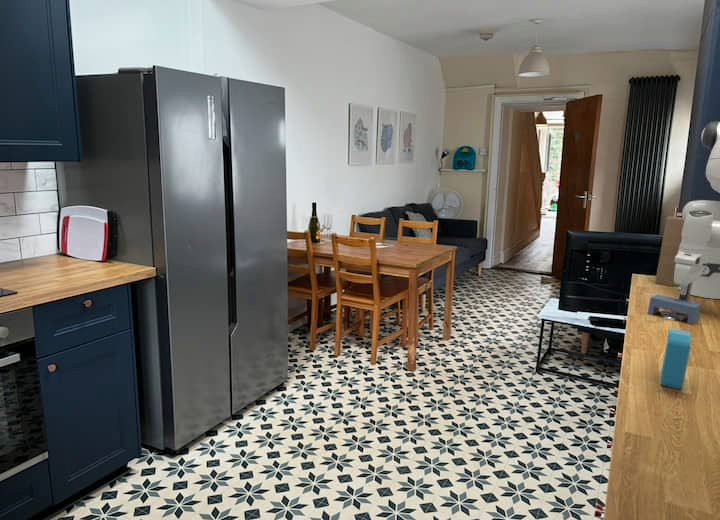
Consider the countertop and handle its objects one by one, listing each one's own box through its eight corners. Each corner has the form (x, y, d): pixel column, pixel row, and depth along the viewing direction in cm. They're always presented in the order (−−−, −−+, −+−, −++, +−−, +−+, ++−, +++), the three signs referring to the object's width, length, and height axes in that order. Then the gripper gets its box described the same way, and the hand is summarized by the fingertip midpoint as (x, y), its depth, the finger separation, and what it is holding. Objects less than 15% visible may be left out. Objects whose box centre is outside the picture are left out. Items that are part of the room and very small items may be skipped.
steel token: (664, 316, 184) (665, 314, 184) (677, 319, 182) (678, 317, 181) (661, 318, 182) (661, 316, 181) (674, 322, 179) (674, 319, 179)
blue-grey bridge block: (654, 310, 191) (657, 294, 190) (698, 320, 181) (701, 304, 180) (647, 313, 187) (650, 297, 185) (692, 324, 177) (695, 307, 175)
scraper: (672, 308, 194) (678, 274, 191) (693, 313, 189) (700, 279, 186) (660, 315, 185) (666, 279, 183) (682, 320, 180) (689, 284, 178)
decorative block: (677, 281, 241) (689, 216, 235) (674, 286, 229) (686, 219, 223) (659, 278, 246) (670, 214, 239) (654, 283, 234) (666, 217, 227)
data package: (661, 370, 136) (669, 326, 134) (681, 374, 134) (690, 330, 131) (660, 387, 126) (669, 340, 123) (682, 392, 124) (691, 344, 121)
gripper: (690, 252, 195) (683, 287, 198) (673, 257, 181) (666, 295, 184) (710, 255, 191) (702, 291, 194) (693, 261, 177) (686, 300, 180)
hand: (684, 293), depth 189 cm, fingers closed on scraper, 2 cm apart
